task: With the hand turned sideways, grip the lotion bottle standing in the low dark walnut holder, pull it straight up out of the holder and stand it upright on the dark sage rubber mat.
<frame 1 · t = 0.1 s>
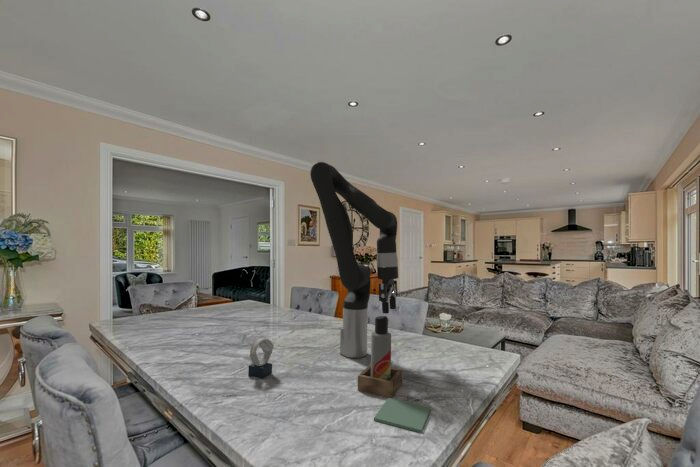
hand: (389, 311, 114), 17 cm above the table, tool pointing down, fingers open, 8 cm apart
watch: (260, 375, 98), on the table
lotion bottle: (380, 387, 91), resting in walnut holder
walnut holder: (380, 386, 91), on the table
sage mat: (403, 414, 76), on the table
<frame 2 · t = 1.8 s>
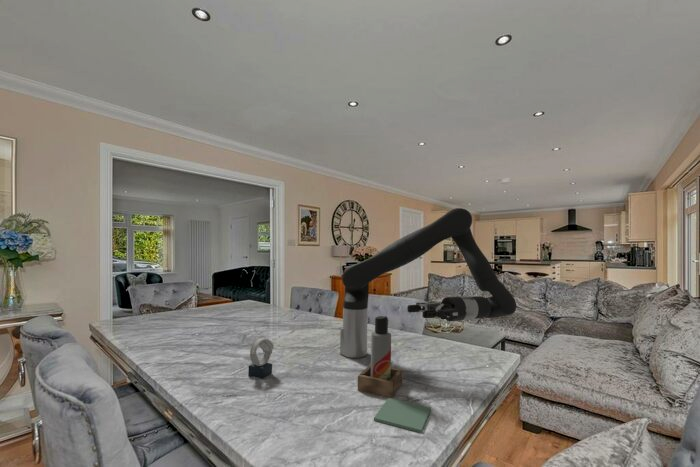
hand: (415, 311, 96), 21 cm above the table, tool horizontal, fingers open, 8 cm apart
nothing on the table moved.
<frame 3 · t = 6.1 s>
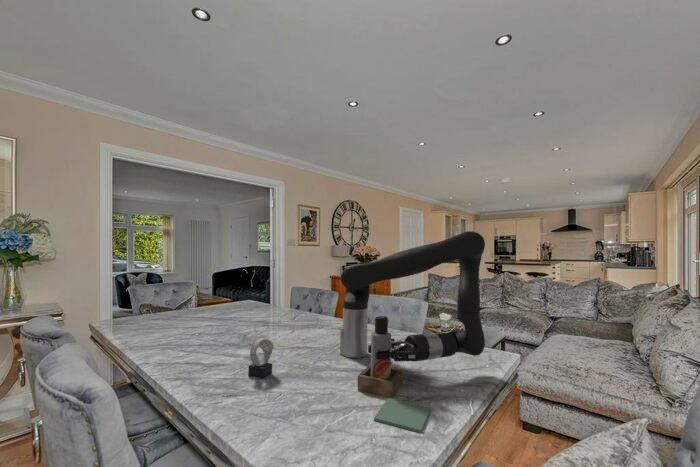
hand: (372, 352, 91), 10 cm above the table, tool horizontal, fingers closed on lotion bottle, 4 cm apart
lotion bottle: (380, 387, 91), resting in walnut holder, touching gripper
everything else where it was.
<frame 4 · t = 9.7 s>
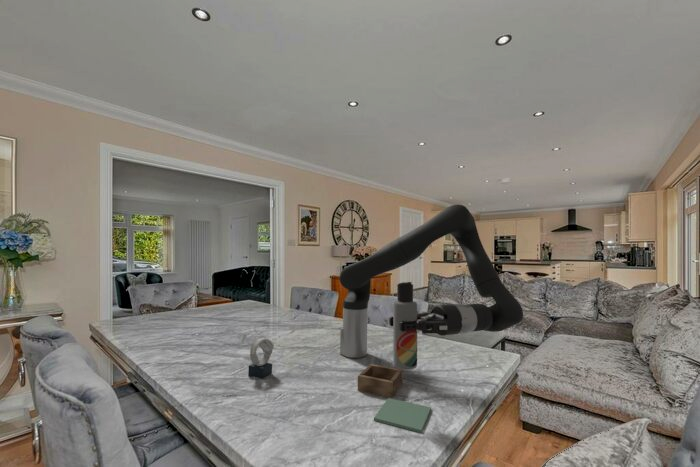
hand: (395, 324, 76), 22 cm above the table, tool horizontal, fingers closed on lotion bottle, 4 cm apart
lotion bottle: (405, 366, 77), point 11 cm above the table, touching gripper
everything else where it was.
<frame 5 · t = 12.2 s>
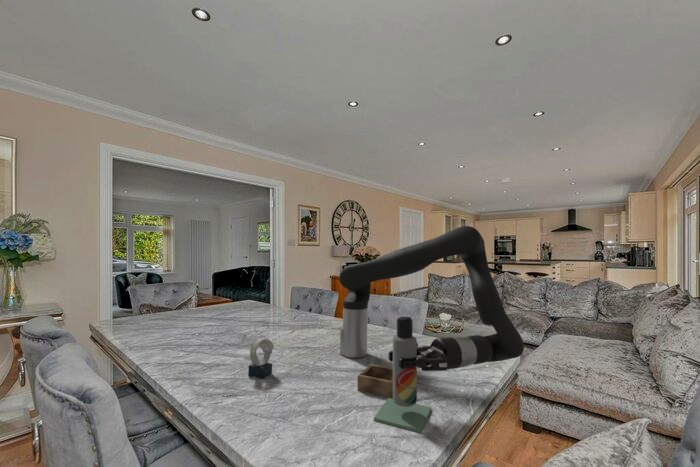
hand: (394, 360, 76), 13 cm above the table, tool horizontal, fingers closed on lotion bottle, 4 cm apart
lotion bottle: (404, 402, 76), point 3 cm above the table, touching gripper
everything else where it was.
when the fingers open (11 cm above the table, at t = 13.7 s): lotion bottle stays where it is, resting on sage mat.
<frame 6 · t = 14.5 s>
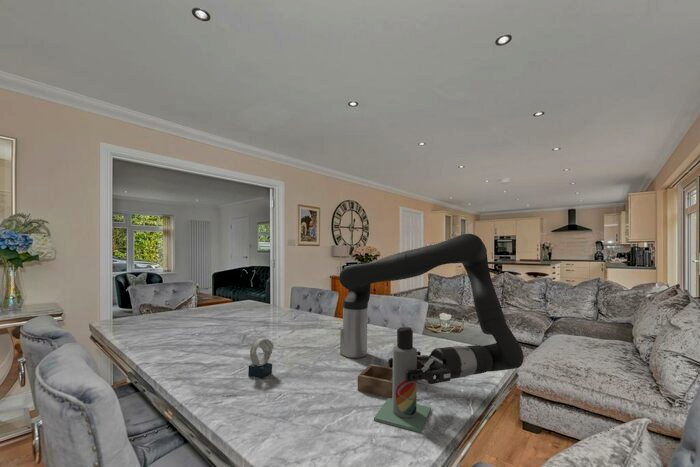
hand: (396, 369, 76), 11 cm above the table, tool horizontal, fingers open, 8 cm apart
lotion bottle: (404, 413, 76), resting on sage mat
everything else where it was.
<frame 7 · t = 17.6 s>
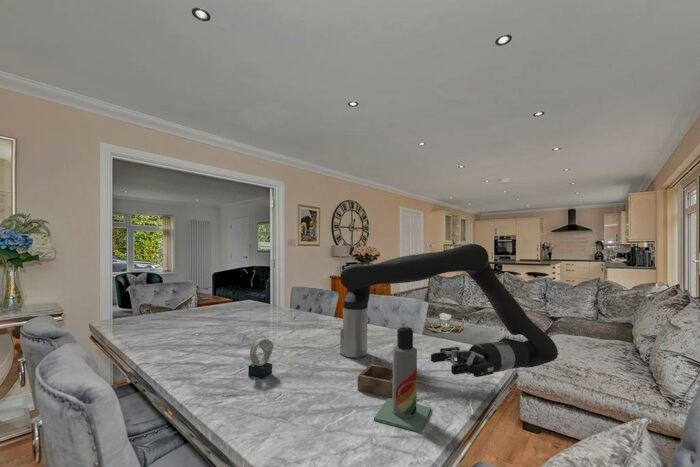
hand: (441, 363, 80), 11 cm above the table, tool horizontal, fingers open, 8 cm apart
nothing on the table moved.
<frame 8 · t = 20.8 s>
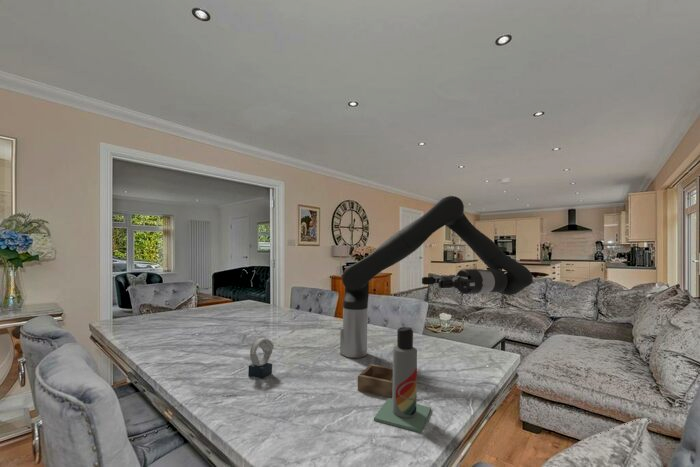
hand: (430, 282, 93), 30 cm above the table, tool horizontal, fingers open, 8 cm apart
nothing on the table moved.
at the end: lotion bottle inside the target area on the sage mat (0.2 cm from its centre), point 0.4 cm above the sage mat's base; lotion bottle tilted 0°; the gripper is holding nothing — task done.
